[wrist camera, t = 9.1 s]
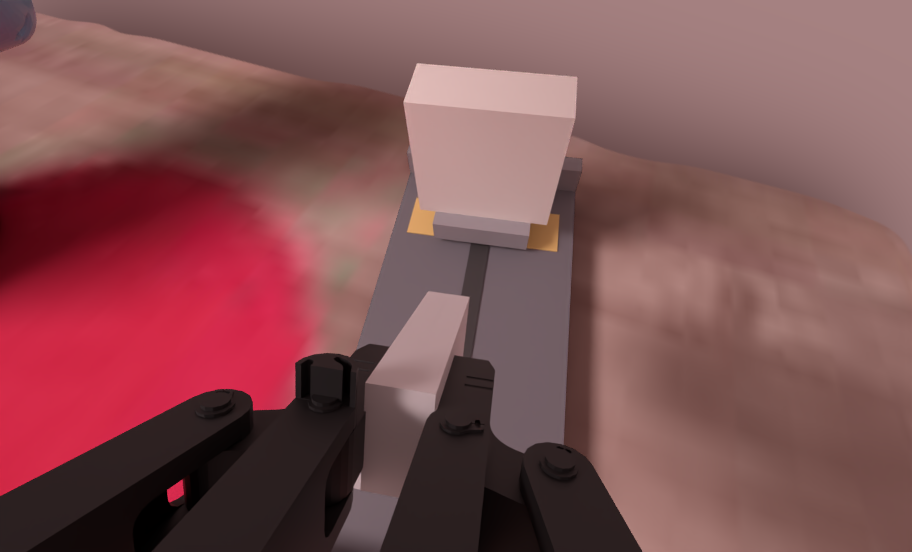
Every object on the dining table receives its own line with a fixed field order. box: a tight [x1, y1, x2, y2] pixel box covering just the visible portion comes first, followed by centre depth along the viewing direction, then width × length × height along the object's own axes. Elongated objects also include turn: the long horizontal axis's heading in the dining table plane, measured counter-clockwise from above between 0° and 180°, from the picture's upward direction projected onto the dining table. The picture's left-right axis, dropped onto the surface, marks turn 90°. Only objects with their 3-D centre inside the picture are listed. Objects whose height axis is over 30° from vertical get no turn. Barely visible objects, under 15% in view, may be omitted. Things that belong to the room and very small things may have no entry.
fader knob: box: [403, 63, 577, 250], centre depth 24 cm, size 5×8×10 cm, turn 80°
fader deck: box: [331, 145, 582, 552], centre depth 25 cm, size 26×12×4 cm, turn 170°
